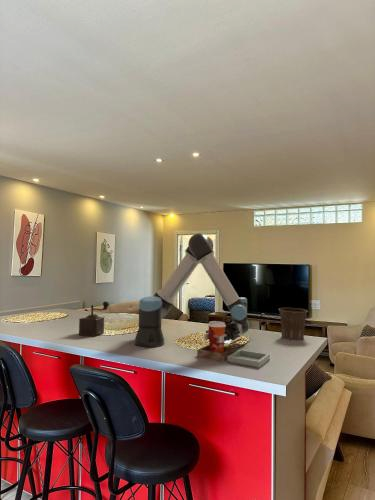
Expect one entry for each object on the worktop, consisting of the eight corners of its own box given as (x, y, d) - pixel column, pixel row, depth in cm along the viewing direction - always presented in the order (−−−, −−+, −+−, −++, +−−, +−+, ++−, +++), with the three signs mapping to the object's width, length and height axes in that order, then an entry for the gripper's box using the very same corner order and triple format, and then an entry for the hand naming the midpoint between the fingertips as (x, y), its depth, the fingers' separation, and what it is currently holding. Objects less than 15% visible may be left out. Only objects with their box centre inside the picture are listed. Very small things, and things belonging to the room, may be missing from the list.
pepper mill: (95, 337, 187) (96, 304, 188) (78, 335, 190) (79, 303, 191) (110, 331, 202) (110, 301, 203) (93, 330, 205) (94, 300, 206)
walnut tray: (197, 356, 153) (197, 349, 154) (210, 350, 165) (210, 343, 165) (223, 361, 147) (223, 354, 147) (235, 354, 158) (235, 347, 158)
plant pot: (309, 341, 188) (309, 312, 188) (279, 339, 191) (279, 310, 192) (305, 335, 204) (305, 308, 204) (277, 333, 207) (277, 307, 207)
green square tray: (227, 362, 145) (227, 356, 146) (239, 354, 158) (239, 349, 158) (259, 368, 138) (259, 361, 138) (269, 359, 150) (269, 354, 150)
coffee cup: (215, 358, 150) (216, 324, 151) (203, 354, 157) (204, 321, 157) (229, 356, 155) (230, 322, 155) (217, 352, 162) (218, 320, 162)
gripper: (251, 340, 166) (232, 350, 147) (214, 335, 176) (192, 343, 157) (251, 325, 167) (233, 332, 147) (214, 320, 177) (192, 327, 157)
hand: (212, 338), depth 152 cm, fingers closed on coffee cup, 7 cm apart
